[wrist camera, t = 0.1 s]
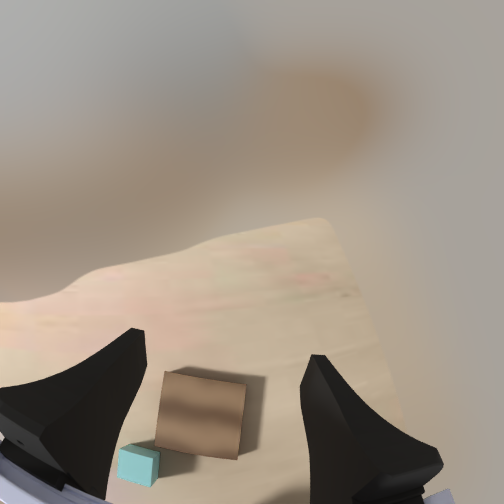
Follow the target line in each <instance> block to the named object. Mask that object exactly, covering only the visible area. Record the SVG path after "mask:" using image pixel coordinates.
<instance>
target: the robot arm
mask: <svg viewBox="0 0 504 504" xmlns="http://www.w3.org/2000/svg"><path fill="white" fill-rule="evenodd" d="M146 367H147V357H146V346H145V334H144V330H139V329H135V328H130V329H129V330H128V331H126V332H125V333H123V334H122V335H121V336H119V337H118V338H117V339H115V340H114V341H113V342H111V343H110V344H108V345H107V346H106V347H104V348H103V349H101V350H100V351H98V352H97V353H95V354H94V355H92V356H91V357H89V358H87V359H86V360H84V361H82V362H81V363H79V364H77V365H75V366H73V367H71V368H69V369H67V370H65V371H63V372H61V373H58V374H55V375H53V376H50V377H47V378H45V379H42V380H38V381H35V382H31V383H27V384H22V385H17V386H10V387H2V388H0V432H1V433H2V434H3V436H4V437H5V438H4V439H3V441H1V440H0V500H1V501H2V502H4V503H5V504H112V503H109V502H107V501H104V500H105V498H106V490H107V484H108V477H109V473H110V468H111V463H112V459H113V455H114V451H115V447H116V443H117V440H118V437H119V433H120V430H121V427H122V425H123V422H124V420H125V417H126V415H127V413H128V411H129V409H130V407H131V405H132V402H133V400H134V398H135V396H136V394H137V392H138V390H139V388H140V385H141V383H142V380H143V377H144V374H145V371H146ZM300 401H301V410H302V415H303V421H304V426H305V431H306V437H307V442H308V448H309V457H310V504H455V502H454V500H453V497H452V494H451V492H450V489H446V490H443V491H441V492H439V493H436V494H434V495H431V496H429V497H427V498H425V499H423V498H422V495H421V494H423V493H424V492H425V490H424V487H423V485H425V484H426V483H427V482H428V481H430V480H431V479H432V478H433V477H435V476H436V475H437V474H438V473H439V472H440V471H441V470H442V468H443V465H444V464H443V461H442V459H441V457H440V454H439V452H438V450H437V449H436V448H435V447H432V446H430V445H428V444H425V443H423V442H421V441H418V440H416V439H415V438H413V437H410V436H409V435H407V434H405V433H404V432H402V431H400V430H399V429H397V428H396V427H394V426H393V425H392V424H390V423H389V422H387V421H386V420H385V419H383V418H382V417H381V416H380V415H378V414H377V413H376V412H375V411H374V410H373V409H371V408H370V407H369V406H368V405H367V404H366V403H365V402H364V401H363V400H362V399H361V398H360V397H359V396H358V395H357V394H356V393H355V392H354V390H353V389H352V388H351V387H350V386H349V385H348V384H347V382H346V381H345V380H344V379H343V377H342V376H341V375H340V374H339V372H338V371H337V370H336V369H335V367H334V366H333V365H332V364H331V362H330V361H329V360H328V358H327V357H326V356H325V355H313V354H312V355H311V357H310V360H309V363H308V366H307V369H306V371H305V374H304V377H303V379H302V382H301V385H300Z"/></svg>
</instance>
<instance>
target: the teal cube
mask: <svg viewBox="0 0 504 504" xmlns="http://www.w3.org/2000/svg"><path fill="white" fill-rule="evenodd" d="M159 459H160V452H158V451H154V450H150V449H146V448H142V447H139V446H135V445H132V444H128V445H126V446H124V447H122V448H120V449H119V459H118V473H117V477H118V478H121V479H124V480H127V481H130V482H134V483H137V484H140V485H144V486H148V487H151V486H152V485H153V484H154V482H155V481H156V480H157V479H158V470H159Z"/></svg>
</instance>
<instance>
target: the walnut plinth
mask: <svg viewBox="0 0 504 504" xmlns="http://www.w3.org/2000/svg"><path fill="white" fill-rule="evenodd" d="M246 385H247V384H239V383H231V382H224V381H217V380H211V379H204V378H198V377H193V376H187V375H182V374H177V373H172V372H167V371H165V372H164V379H163V385H162V391H161V398H160V405H159V412H158V419H157V427H156V435H155V444H154V446H157V447H161V448H166V449H170V450H175V451H179V452H185V453H190V454H195V455H201V456H208V457H215V458H222V459H231V460H237V458H238V450H239V442H240V434H241V426H242V418H243V410H244V402H245V393H246Z"/></svg>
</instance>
